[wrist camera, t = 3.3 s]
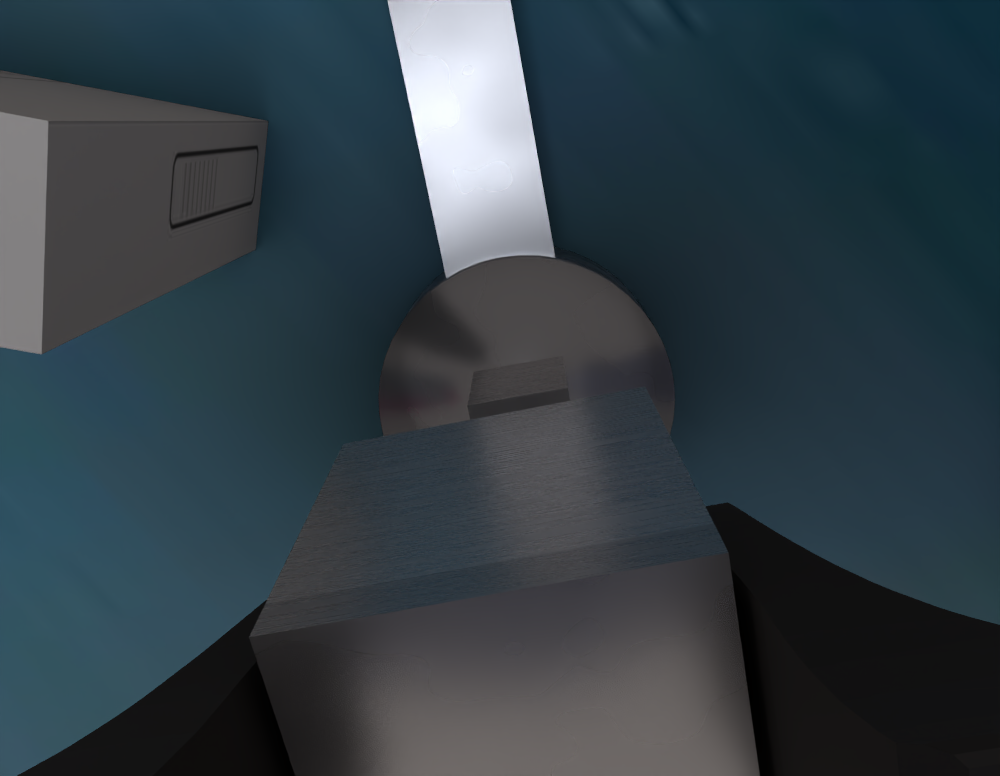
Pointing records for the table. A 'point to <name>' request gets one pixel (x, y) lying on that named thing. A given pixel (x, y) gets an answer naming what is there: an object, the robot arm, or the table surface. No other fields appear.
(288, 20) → the table surface
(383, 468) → the brushed metal cube
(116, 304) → the cassette player
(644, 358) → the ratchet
